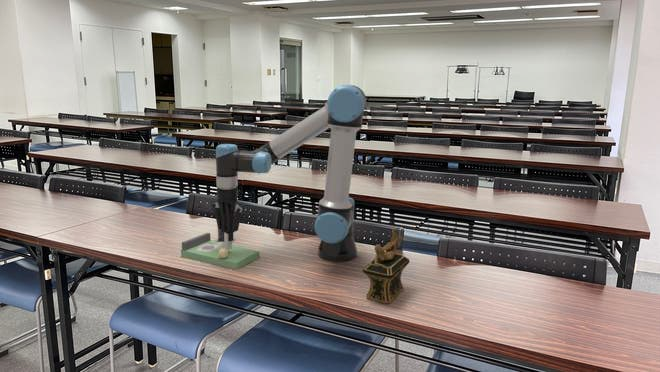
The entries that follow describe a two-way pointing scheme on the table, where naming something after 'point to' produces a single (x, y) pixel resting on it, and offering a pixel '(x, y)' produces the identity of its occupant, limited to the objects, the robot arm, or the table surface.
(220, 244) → the ball
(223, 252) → the yellow ball
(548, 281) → the table surface
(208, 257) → the green
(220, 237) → the supplement bottle
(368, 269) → the decorative box
